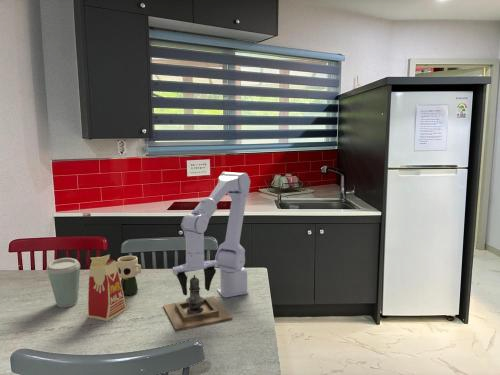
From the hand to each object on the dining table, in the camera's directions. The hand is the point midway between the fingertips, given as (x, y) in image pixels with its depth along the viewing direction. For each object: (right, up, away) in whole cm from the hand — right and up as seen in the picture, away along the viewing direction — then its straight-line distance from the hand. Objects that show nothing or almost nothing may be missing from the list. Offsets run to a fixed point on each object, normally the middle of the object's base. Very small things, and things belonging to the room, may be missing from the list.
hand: (196, 291), depth 129 cm
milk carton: (-30, -7, +1) cm, 30 cm away
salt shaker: (-1, -7, +2) cm, 7 cm away
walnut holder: (0, -7, +1) cm, 7 cm away
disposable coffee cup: (-46, -7, +8) cm, 47 cm away
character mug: (-27, -5, +17) cm, 32 cm away
